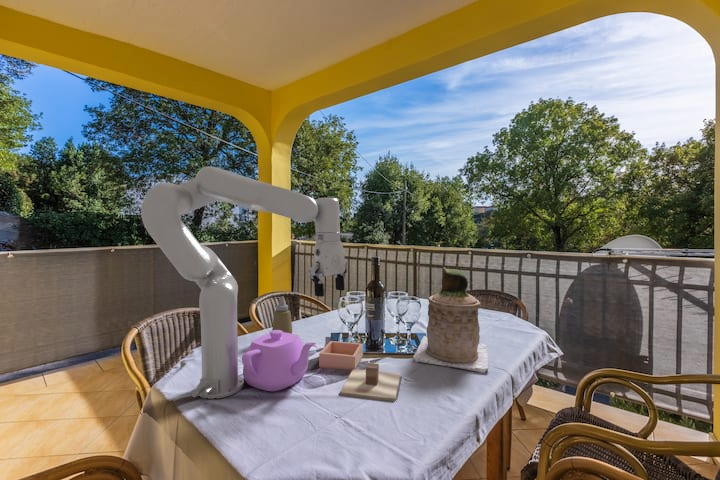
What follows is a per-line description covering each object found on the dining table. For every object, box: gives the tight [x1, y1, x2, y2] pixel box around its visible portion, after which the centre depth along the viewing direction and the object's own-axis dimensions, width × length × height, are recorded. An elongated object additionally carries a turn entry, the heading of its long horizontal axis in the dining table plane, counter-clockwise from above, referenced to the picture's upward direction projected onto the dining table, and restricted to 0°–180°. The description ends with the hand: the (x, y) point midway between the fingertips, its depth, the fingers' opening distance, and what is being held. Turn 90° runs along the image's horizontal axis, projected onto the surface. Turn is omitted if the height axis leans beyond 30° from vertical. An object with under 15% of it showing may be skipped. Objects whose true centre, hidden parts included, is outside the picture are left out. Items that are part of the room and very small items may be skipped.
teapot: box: [241, 330, 317, 392], centre depth 98 cm, size 23×21×15 cm
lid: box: [339, 362, 401, 402], centre depth 98 cm, size 15×15×6 cm
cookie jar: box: [412, 266, 490, 374], centre depth 121 cm, size 25×25×32 cm
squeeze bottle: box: [271, 295, 293, 334], centre depth 135 cm, size 8×8×18 cm
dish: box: [318, 340, 364, 372], centre depth 114 cm, size 12×12×5 cm
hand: (330, 293), depth 105 cm, fingers open, 9 cm apart
